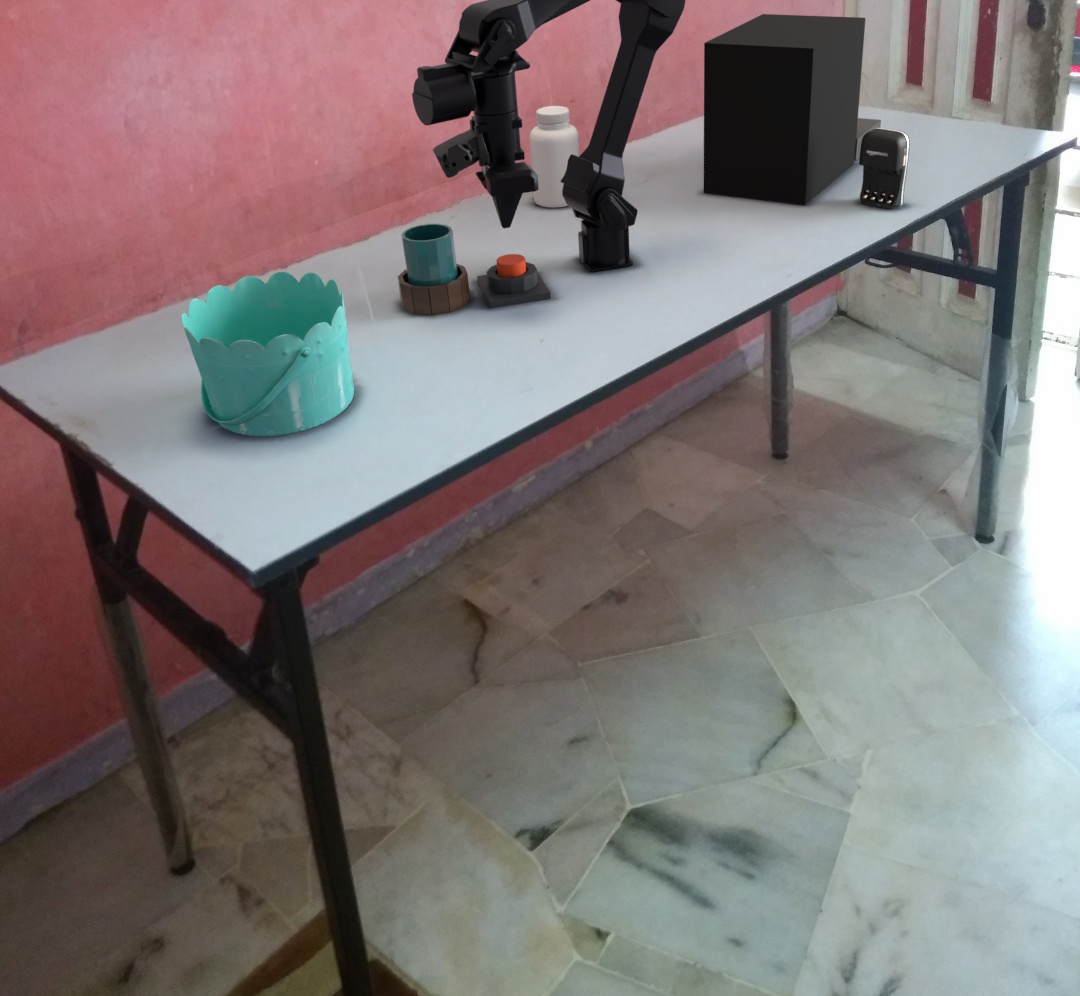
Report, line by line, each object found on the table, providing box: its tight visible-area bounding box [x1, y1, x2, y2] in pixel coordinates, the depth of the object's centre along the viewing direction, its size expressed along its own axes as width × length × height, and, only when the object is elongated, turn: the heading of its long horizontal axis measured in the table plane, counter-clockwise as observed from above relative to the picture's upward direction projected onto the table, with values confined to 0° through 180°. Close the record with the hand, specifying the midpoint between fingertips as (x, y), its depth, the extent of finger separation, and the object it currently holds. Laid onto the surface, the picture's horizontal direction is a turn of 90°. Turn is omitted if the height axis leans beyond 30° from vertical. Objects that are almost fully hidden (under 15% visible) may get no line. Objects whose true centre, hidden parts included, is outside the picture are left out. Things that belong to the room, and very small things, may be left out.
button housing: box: [476, 261, 552, 309], centre depth 160 cm, size 10×8×3 cm
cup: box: [400, 223, 458, 286], centre depth 157 cm, size 7×7×10 cm
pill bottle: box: [529, 105, 580, 208], centre depth 188 cm, size 8×8×15 cm
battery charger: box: [858, 127, 911, 209], centre depth 176 cm, size 7×4×11 cm, turn 45°
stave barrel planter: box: [397, 263, 471, 316], centre depth 158 cm, size 9×9×4 cm
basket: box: [180, 271, 355, 437], centre depth 133 cm, size 19×18×13 cm
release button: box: [495, 253, 526, 277], centre depth 159 cm, size 4×4×2 cm
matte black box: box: [703, 13, 882, 206], centre depth 191 cm, size 18×35×24 cm, turn 148°
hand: (505, 227), depth 156 cm, fingers closed
